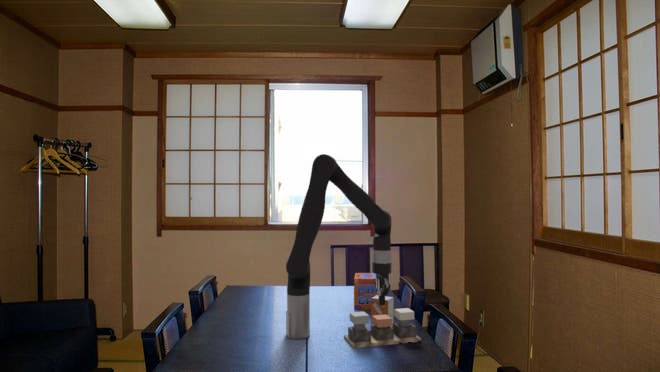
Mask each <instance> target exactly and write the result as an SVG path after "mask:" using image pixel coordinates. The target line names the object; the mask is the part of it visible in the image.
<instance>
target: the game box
mask: <svg viewBox="0 0 660 372" xmlns="http://www.w3.org/2000/svg"><path fill="white" fill-rule="evenodd" d="M375 278H376V274H374V273H373V272H355V274H354V278H353V310H358V311H359V310H360V311H362V310H363V311H371V298H372V297H374V296H376V295H378V292H376V288H375V284H374V279H375Z"/></svg>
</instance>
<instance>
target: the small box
mask: <svg viewBox="0 0 660 372" xmlns="http://www.w3.org/2000/svg"><path fill="white" fill-rule="evenodd" d="M374 315H388V316H389V317H390V318H392V326H391V327H393V323H395V322H394V318H395V317H394V296H388V295H386V296H385V305H379V295H376V296H374V297H372V298H371V310H370V326H371V325H374V324H373V323H372V316H374Z"/></svg>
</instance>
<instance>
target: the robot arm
mask: <svg viewBox="0 0 660 372" xmlns="http://www.w3.org/2000/svg"><path fill="white" fill-rule="evenodd" d="M311 166H312V167H311V173H310V178H309V179H310V180H309V183H308V184H309V185H308V188H307V191H306V194H305V196H304V200H303V202H302V207H301V209H300V214H299V218H298V221H297V226H296V232H295V238H294V242H293V246H292V249H291V252H290V254H289V256H288V258H287V261H286V265H285V270H286V272H287V286H286V302H287V303H286V312H285V326H286V327H285V330H286V331H285V334H286V336H287V338H288V339H294V340H302V339H306V338H309V337H310V335H311V331H310V329H311V327H310V326H311V322H310V321H311V320H310V319H311V316H310V315H311V313H310V308H311V306H310V301H311V300H310V296H311V295H310V294H311V293H310V289H311V261H310V258H311V252H312V248H313V245H314V242H315V240H316V239H317V235H318V233H319V231H320V227H321V225H322V222H323V217H324V214H325V208H326V194H327V189H328V185H329V182H330V183H332V184H333V186H336V187H337V188H338V189H339V191H341V192H342V194H343V195H344V196H345V197H346V199H347V200H348V201H349V202H350V203H351V204H352V205H353V206H354V207H355V208H356V209H358V211H359V212H361V213H362V214H363V215H364V216H365V218H366V219H367V220H368V221H369V222H370V223H371V224H372V225H373V226H374V228H373V229H374V234H373V235H374V236H373V237H372V238H373V239H372V256H371V259H372V262H371V263H372V267H371V268H372V272H371V273H374V274H376V278H375V279H374V284H375V288H376V292H378V295H379V305H385V296H388V294H389V291H390V289H391V283H389V277H388V275H390V274H391V273H392V251H391V250H392V249H391V248H392V245H391V244H392V239H391V234H392V233H391V232H392V216H391V214H390V212H388V211H386V210H383V209H382V207H380V206H379V205H378V204H377V203H376V201H375V200H374V199H373V198H372V197H371V195H369V194H368V193H367V192H366V191H365V189H363V188H362V187H361V186H360V185H358V184H357V183H356V182H354V181H353V180H352V179H351V178H350V177H349V176H348V175H347V174H346V172H344V170H343V169H342V168H341V166H340V165H339V164H338V162H337V160H336V159H335V158H334V157H332V156H330V154H325V153H322V154H319V155H318V156H316V157H315V158H314V159H313V162H312V165H311Z"/></svg>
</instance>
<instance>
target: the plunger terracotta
mask: <svg viewBox="0 0 660 372" xmlns="http://www.w3.org/2000/svg"><path fill="white" fill-rule="evenodd" d="M372 323H373V324H374V325H375V326H376V328H378V329H386V328H388V327H389V326H392V318H390V317H389V316H388V315H374V316H372Z"/></svg>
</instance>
